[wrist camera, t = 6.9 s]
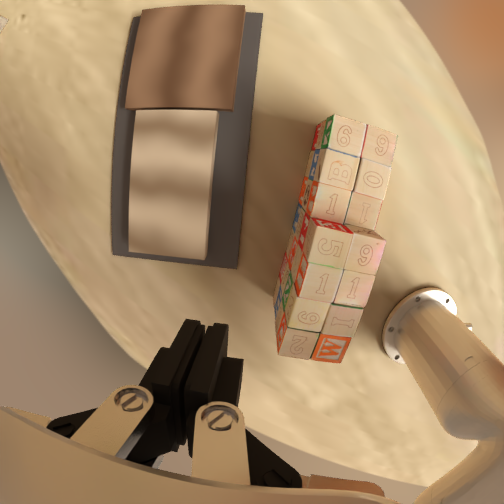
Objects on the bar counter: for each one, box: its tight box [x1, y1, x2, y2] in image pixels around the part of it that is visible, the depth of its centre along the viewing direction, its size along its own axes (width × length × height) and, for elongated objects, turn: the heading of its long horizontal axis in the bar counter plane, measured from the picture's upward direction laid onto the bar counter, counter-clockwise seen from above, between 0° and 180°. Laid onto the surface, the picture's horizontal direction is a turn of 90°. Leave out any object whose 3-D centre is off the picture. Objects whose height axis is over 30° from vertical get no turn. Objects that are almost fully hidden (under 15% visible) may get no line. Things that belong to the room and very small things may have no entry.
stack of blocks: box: [273, 114, 398, 363], centre depth 29 cm, size 21×6×12 cm, turn 168°
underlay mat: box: [112, 12, 263, 269], centre depth 31 cm, size 16×31×1 cm, turn 174°
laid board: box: [125, 5, 246, 112], centre depth 27 cm, size 12×13×2 cm
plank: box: [129, 110, 219, 260], centre depth 32 cm, size 16×9×2 cm, turn 174°
